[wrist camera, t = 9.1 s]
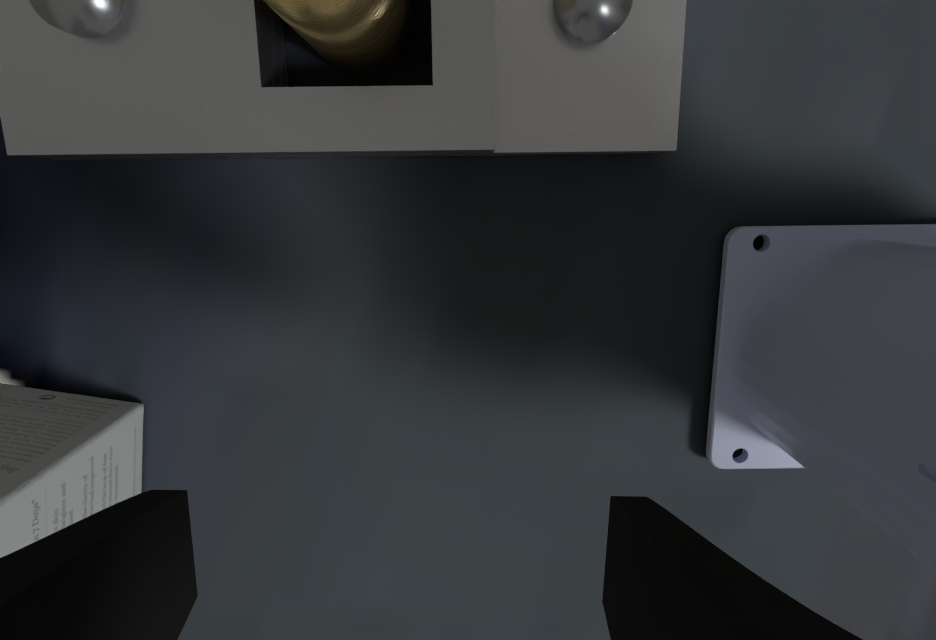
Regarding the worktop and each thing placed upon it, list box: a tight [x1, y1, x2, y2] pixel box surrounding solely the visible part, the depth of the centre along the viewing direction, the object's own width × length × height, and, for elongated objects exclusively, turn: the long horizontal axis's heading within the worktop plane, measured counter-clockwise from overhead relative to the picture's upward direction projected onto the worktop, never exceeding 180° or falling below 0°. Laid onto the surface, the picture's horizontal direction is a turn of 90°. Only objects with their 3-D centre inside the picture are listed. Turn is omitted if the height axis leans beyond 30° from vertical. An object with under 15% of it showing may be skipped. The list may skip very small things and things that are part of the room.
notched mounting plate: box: [0, 0, 686, 160], centre depth 15 cm, size 18×8×3 cm, turn 91°
